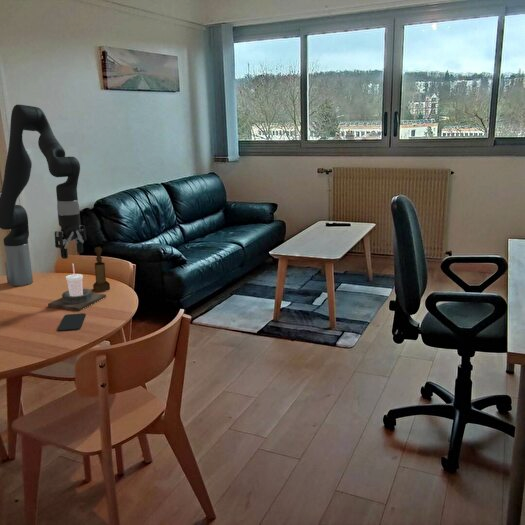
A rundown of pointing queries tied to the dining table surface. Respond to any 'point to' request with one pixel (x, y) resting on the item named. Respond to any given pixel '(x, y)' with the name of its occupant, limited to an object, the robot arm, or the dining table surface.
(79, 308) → the ring holder
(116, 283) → the dining table surface
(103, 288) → the pepper mill
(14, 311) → the dining table surface
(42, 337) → the dining table surface
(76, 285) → the beverage cup
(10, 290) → the dining table surface
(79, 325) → the phone
